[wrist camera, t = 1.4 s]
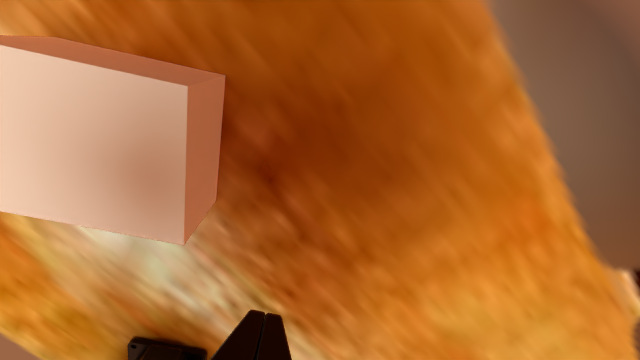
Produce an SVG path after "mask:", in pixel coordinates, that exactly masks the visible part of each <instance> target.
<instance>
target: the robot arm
mask: <svg viewBox="0 0 640 360" xmlns="http://www.w3.org/2000/svg"><path fill="white" fill-rule="evenodd" d="M264 318H265V319H264ZM261 331H262V332H261ZM255 357H256V358H255ZM128 360H207V353H206V352H205V351H203V350H198V349H192V348H187V347H181V346H176V345H170V344H164V343H159V342H153V341H148V340H142V339H137V338H133V339H131V341H130V342H129V344H128ZM210 360H292V359H291V354H290V350H289V346H288V342H287V337H286V333H285V329H284V325H283V321H282V317H281V316H280V315H278V314H272V313H267V314H266V315H265V313H264V312H262V311H257V310H250V311H249V312H248V313H247V314H246V316H245V317H244V318H243V319H242V320H241V322H240V323H239V324H238V325H237V327H236V328H235V329H234V330H233V332H232V333H231V334H230V335H229V337H228V338H227V339H226V340H225V341H224V343H223V344H222V345H221V346H220V348H219V349H218V350H217V351H216V353H215V354H214V355H213V356H212V357H211V359H210Z"/></svg>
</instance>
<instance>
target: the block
mask: <svg viewBox="0 0 640 360" xmlns="http://www.w3.org/2000/svg"><path fill="white" fill-rule="evenodd" d="M225 77H226V75H222V74H218V73H213V72H209V71H204V70H200V69H195V68H191V67H187V66H182V65H178V64H173V63H169V62H164V61H160V60H155V59H151V58H146V57H142V56H138V55H133V54H129V53H124V52H120V51H115V50H111V49H106V48H102V47H98V46H93V45H89V44H84V43H80V42H75V41H71V40H66V39H62V38H57V37H37V36H3V35H0V211H2V212H8V213H13V214H18V215H24V216H29V217H34V218H40V219H45V220H51V221H56V222H61V223H67V224H72V225H77V226H83V227H88V228H93V229H99V230H104V231H109V232H115V233H120V234H125V235H131V236H136V237H141V238H147V239H152V240H157V241H163V242H168V243H173V244H179V245H184V244H185V243H186V241H187V240H188V239H189V237H190V236H191V235H192V233H193V232H194V230H195V229H196V228H197V226H198V225H199V224H200V222H201V221H202V219H203V218H204V217H205V215H206V214H207V213H208V211H209V210H210V208H211V207H212V206H213V204H214V203H215V201H216V195H217V182H218V169H219V156H220V142H221V129H222V116H223V103H224V90H225Z"/></svg>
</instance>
